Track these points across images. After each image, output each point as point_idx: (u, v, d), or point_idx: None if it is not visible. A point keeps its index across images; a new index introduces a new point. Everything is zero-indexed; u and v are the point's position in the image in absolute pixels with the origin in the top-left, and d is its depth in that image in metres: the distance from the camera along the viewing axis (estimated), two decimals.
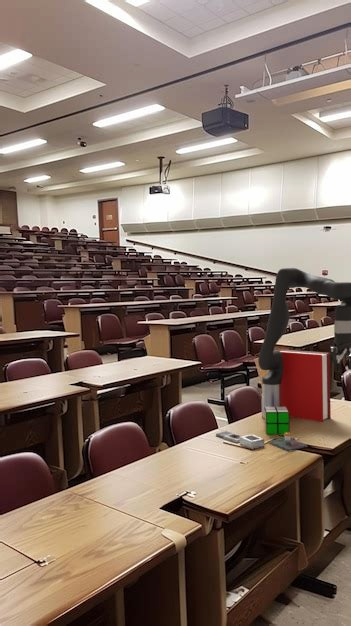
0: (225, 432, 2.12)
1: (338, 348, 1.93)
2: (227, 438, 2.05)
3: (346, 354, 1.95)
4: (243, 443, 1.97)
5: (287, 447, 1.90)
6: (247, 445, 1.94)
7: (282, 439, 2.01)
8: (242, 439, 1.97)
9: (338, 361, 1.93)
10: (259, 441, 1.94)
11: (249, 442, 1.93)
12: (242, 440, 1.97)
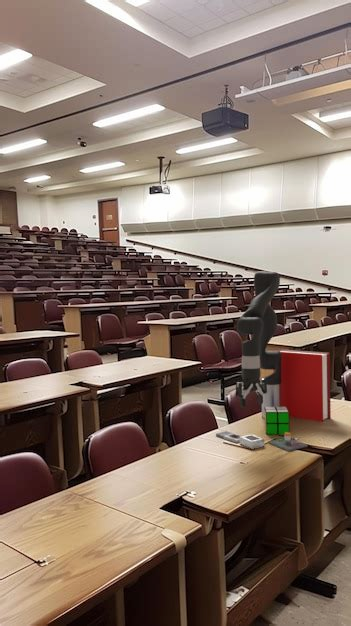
0: (225, 432, 2.12)
1: (244, 383, 1.93)
2: (227, 438, 2.05)
3: (253, 389, 1.95)
4: (243, 443, 1.97)
5: (287, 447, 1.90)
6: (247, 445, 1.94)
7: (282, 439, 2.01)
8: (242, 439, 1.97)
9: (244, 396, 1.92)
10: (259, 441, 1.94)
11: (249, 442, 1.93)
12: (242, 440, 1.97)
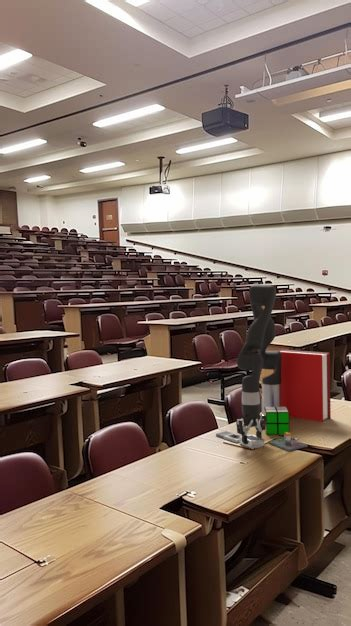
0: (225, 432, 2.12)
1: (244, 419, 1.94)
2: (227, 438, 2.05)
3: (253, 425, 1.96)
4: None
5: (287, 447, 1.90)
6: (247, 445, 1.94)
7: (282, 439, 2.01)
8: None
9: (245, 433, 1.94)
10: (259, 441, 1.94)
11: (249, 442, 1.93)
12: None
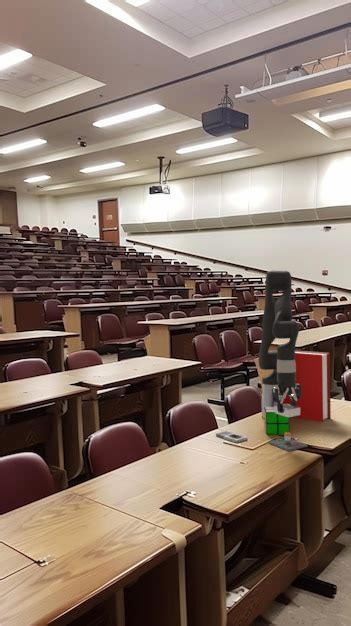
0: (225, 432, 2.12)
1: (280, 387, 1.92)
2: (227, 438, 2.05)
3: (288, 393, 1.94)
4: (278, 412, 1.95)
5: (287, 447, 1.90)
6: (283, 413, 1.93)
7: (282, 439, 2.01)
8: None
9: (281, 402, 1.92)
10: (295, 409, 1.92)
11: (285, 410, 1.91)
12: None
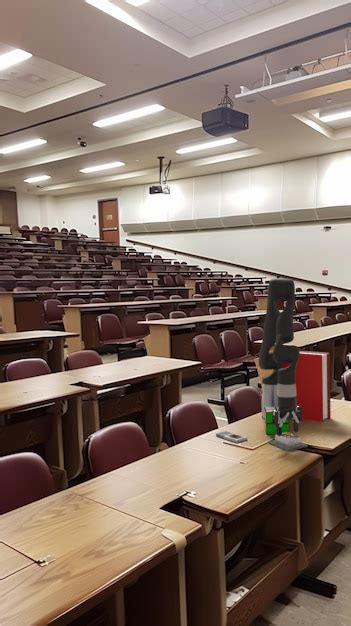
0: (225, 432, 2.12)
1: (280, 412, 1.93)
2: (227, 438, 2.05)
3: (289, 417, 1.94)
4: (279, 441, 1.96)
5: (287, 447, 1.90)
6: (283, 443, 1.93)
7: None
8: (278, 437, 1.96)
9: (280, 425, 1.92)
10: (296, 439, 1.93)
11: (286, 440, 1.92)
12: (278, 438, 1.96)
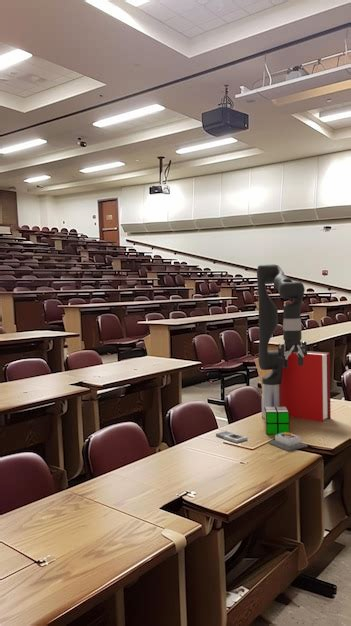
0: (225, 432, 2.12)
1: (286, 345, 2.02)
2: (227, 438, 2.05)
3: (294, 351, 2.04)
4: (279, 441, 1.96)
5: (287, 447, 1.90)
6: (283, 443, 1.93)
7: None
8: (278, 437, 1.96)
9: (286, 357, 2.02)
10: (296, 439, 1.93)
11: (286, 440, 1.92)
12: (278, 438, 1.96)
